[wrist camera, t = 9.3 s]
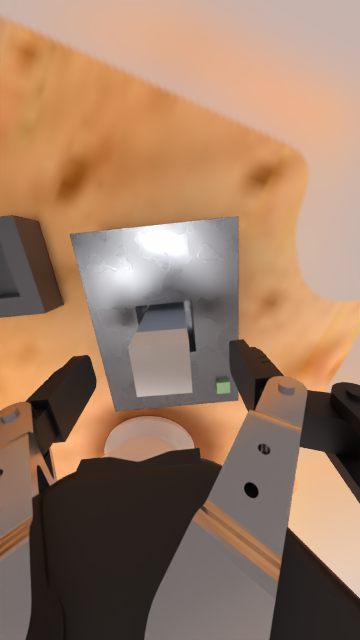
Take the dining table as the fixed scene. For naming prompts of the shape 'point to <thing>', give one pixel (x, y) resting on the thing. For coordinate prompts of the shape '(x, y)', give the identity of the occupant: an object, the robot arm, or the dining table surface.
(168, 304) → the plug
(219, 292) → the port
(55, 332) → the dining table surface
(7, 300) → the holster
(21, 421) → the robot arm
